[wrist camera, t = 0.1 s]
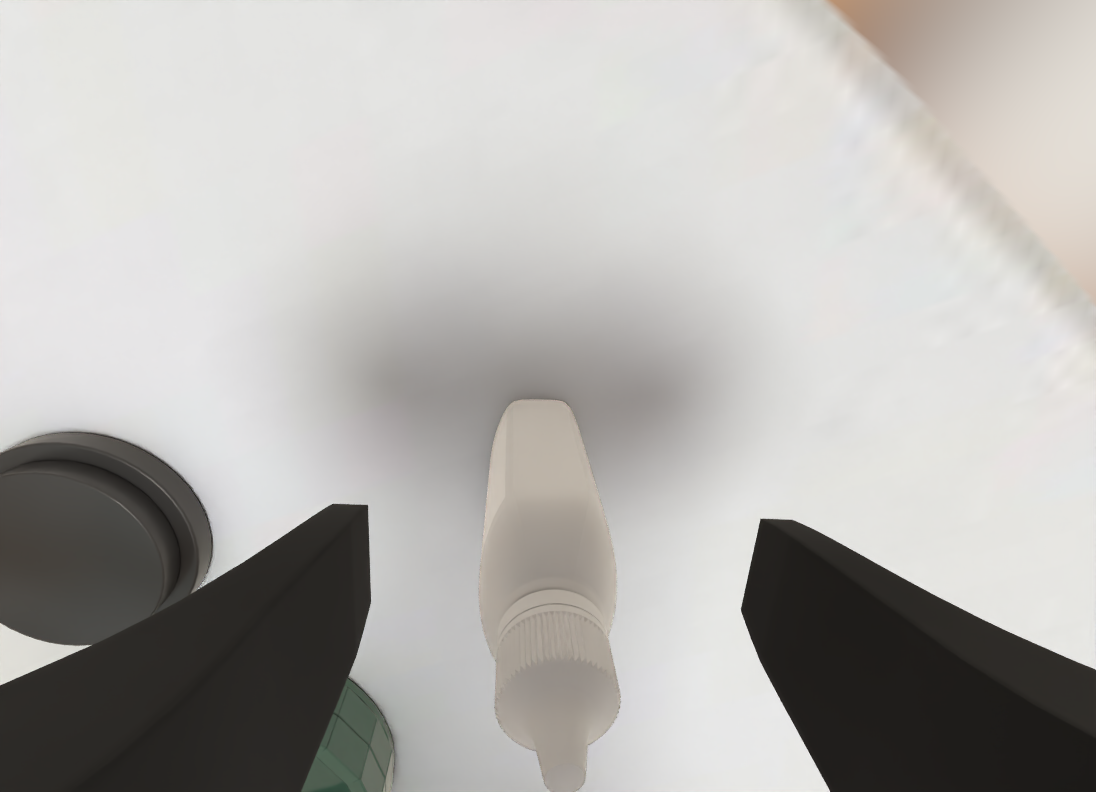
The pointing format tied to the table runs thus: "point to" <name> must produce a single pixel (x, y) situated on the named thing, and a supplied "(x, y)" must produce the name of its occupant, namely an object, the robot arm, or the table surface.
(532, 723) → the eye dropper bottle
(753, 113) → the table surface
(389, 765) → the tin
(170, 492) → the gray stand
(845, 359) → the table surface
